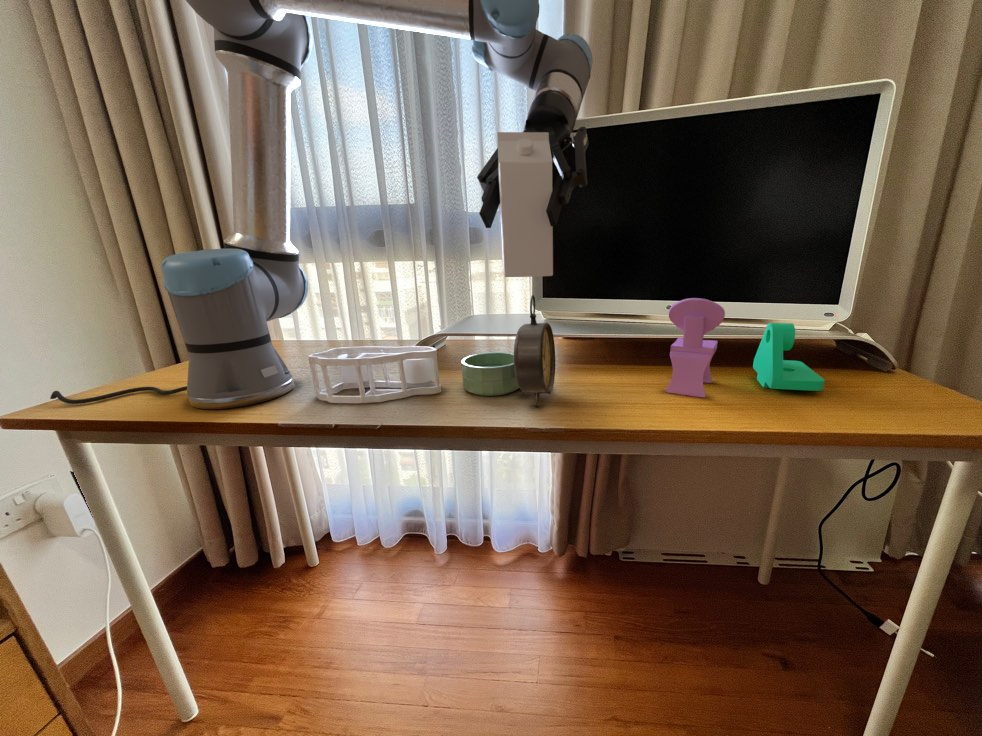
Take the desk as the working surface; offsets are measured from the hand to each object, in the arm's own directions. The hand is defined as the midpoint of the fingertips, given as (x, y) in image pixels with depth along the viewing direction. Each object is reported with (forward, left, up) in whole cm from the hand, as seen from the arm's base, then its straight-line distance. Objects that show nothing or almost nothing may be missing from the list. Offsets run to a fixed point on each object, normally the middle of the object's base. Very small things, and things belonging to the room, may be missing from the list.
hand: (517, 219), depth 60 cm
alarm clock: (+2, 0, -27) cm, 27 cm away
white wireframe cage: (-24, -5, -27) cm, 36 cm away
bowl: (-7, +3, -26) cm, 28 cm away
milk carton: (0, +3, -8) cm, 9 cm away
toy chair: (+25, +13, -27) cm, 39 cm away
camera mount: (+40, +19, -27) cm, 52 cm away
